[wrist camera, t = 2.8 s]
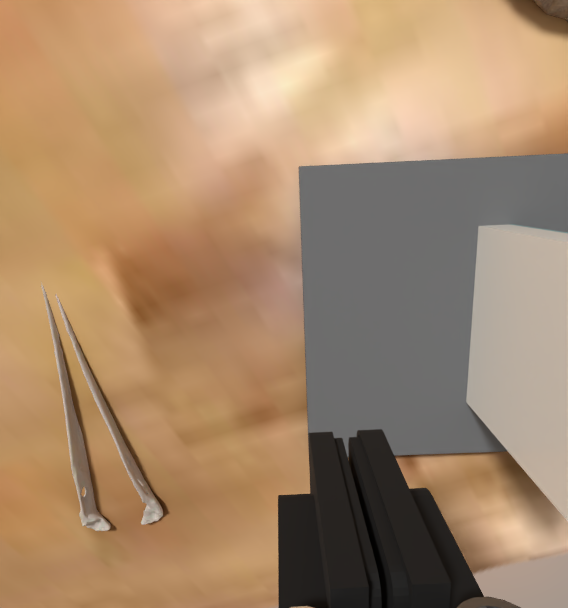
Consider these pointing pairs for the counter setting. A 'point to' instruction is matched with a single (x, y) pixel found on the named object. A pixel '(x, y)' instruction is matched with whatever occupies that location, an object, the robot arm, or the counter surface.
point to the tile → (523, 350)
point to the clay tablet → (554, 7)
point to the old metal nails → (76, 441)
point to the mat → (407, 289)
